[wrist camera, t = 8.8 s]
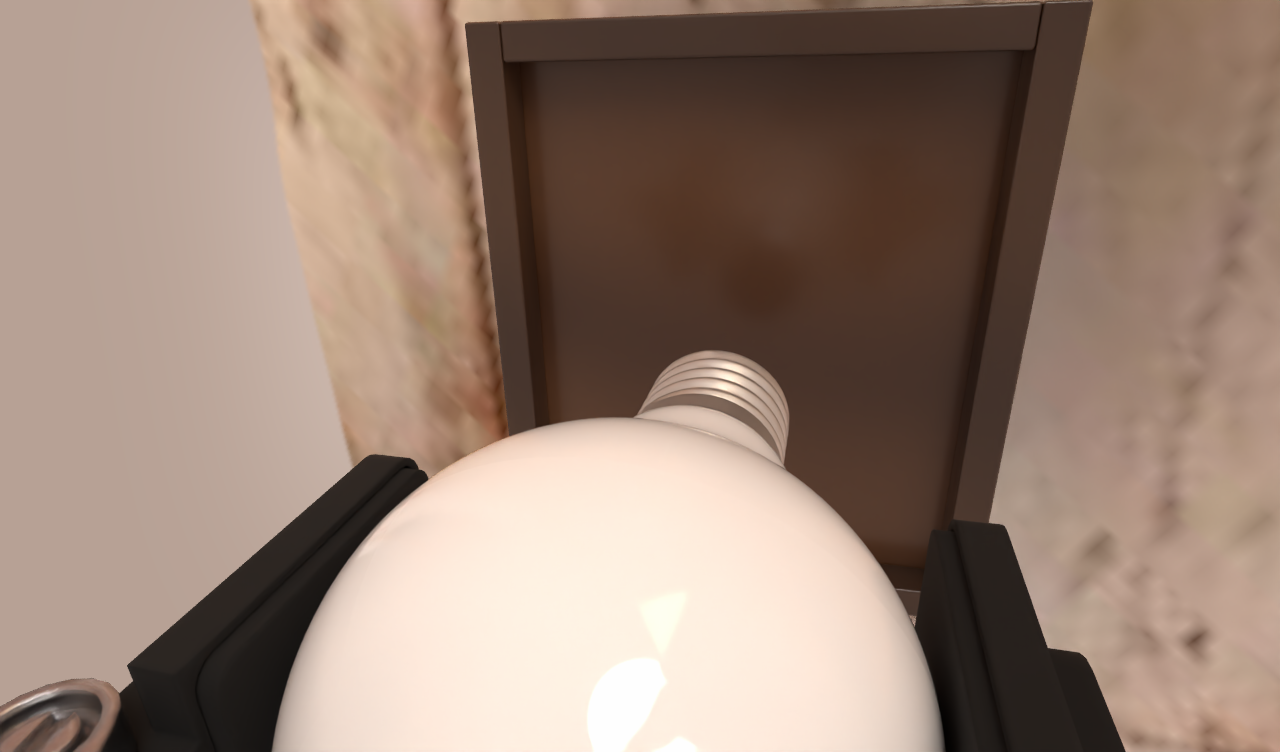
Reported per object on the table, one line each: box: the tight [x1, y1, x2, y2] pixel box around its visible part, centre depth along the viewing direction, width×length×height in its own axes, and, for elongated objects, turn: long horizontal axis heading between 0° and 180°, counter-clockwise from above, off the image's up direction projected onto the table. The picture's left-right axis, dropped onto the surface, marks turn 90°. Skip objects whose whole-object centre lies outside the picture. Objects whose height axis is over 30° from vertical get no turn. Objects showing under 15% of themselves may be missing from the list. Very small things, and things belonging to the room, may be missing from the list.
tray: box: [465, 0, 1093, 616], centre depth 20 cm, size 14×12×7 cm
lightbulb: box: [271, 350, 947, 752], centre depth 10 cm, size 6×6×11 cm
